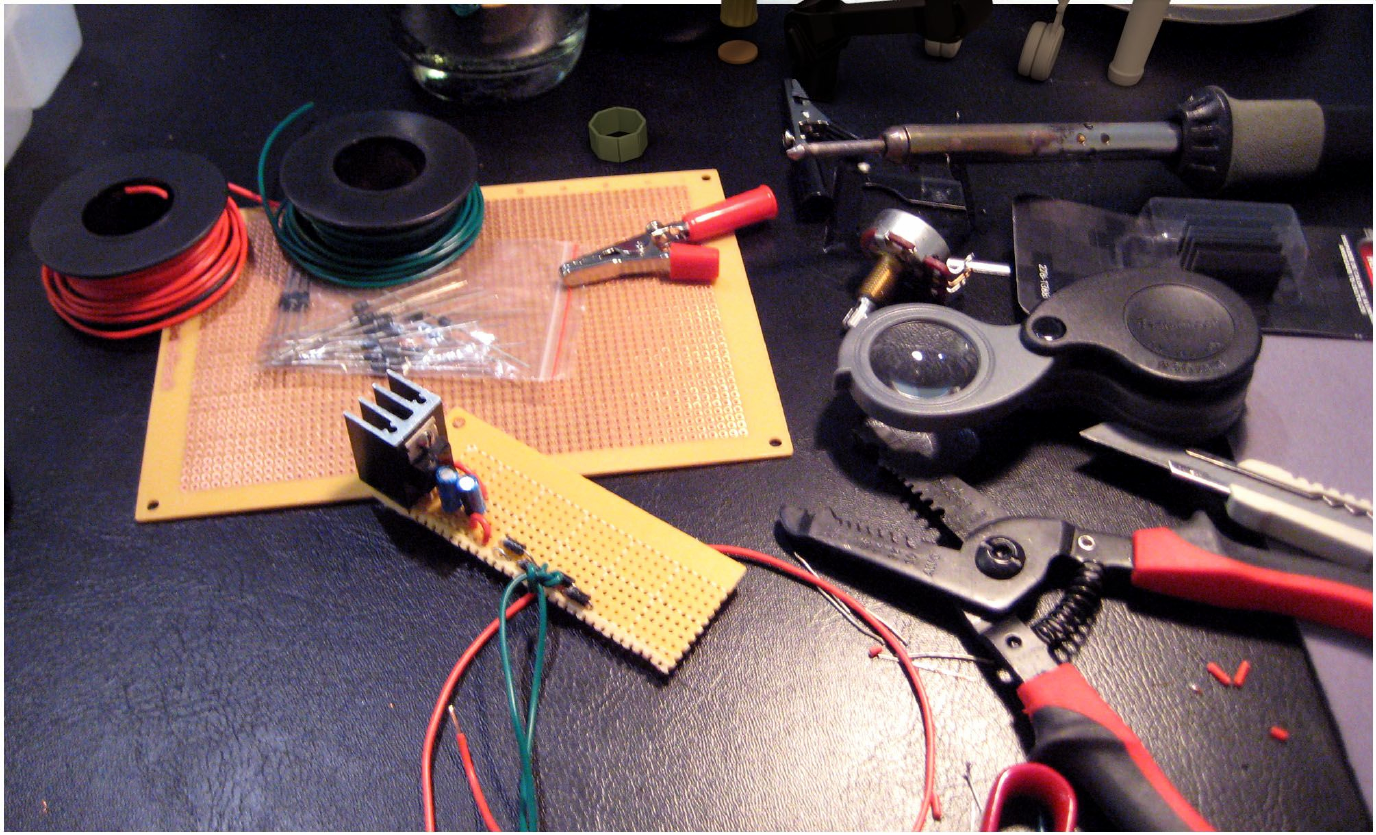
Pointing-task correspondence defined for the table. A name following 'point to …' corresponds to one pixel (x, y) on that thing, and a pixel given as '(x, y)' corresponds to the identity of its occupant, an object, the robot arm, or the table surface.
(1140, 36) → the bottle
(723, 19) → the vase
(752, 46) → the coaster
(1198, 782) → the table surface
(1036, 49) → the headphones
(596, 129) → the ring
